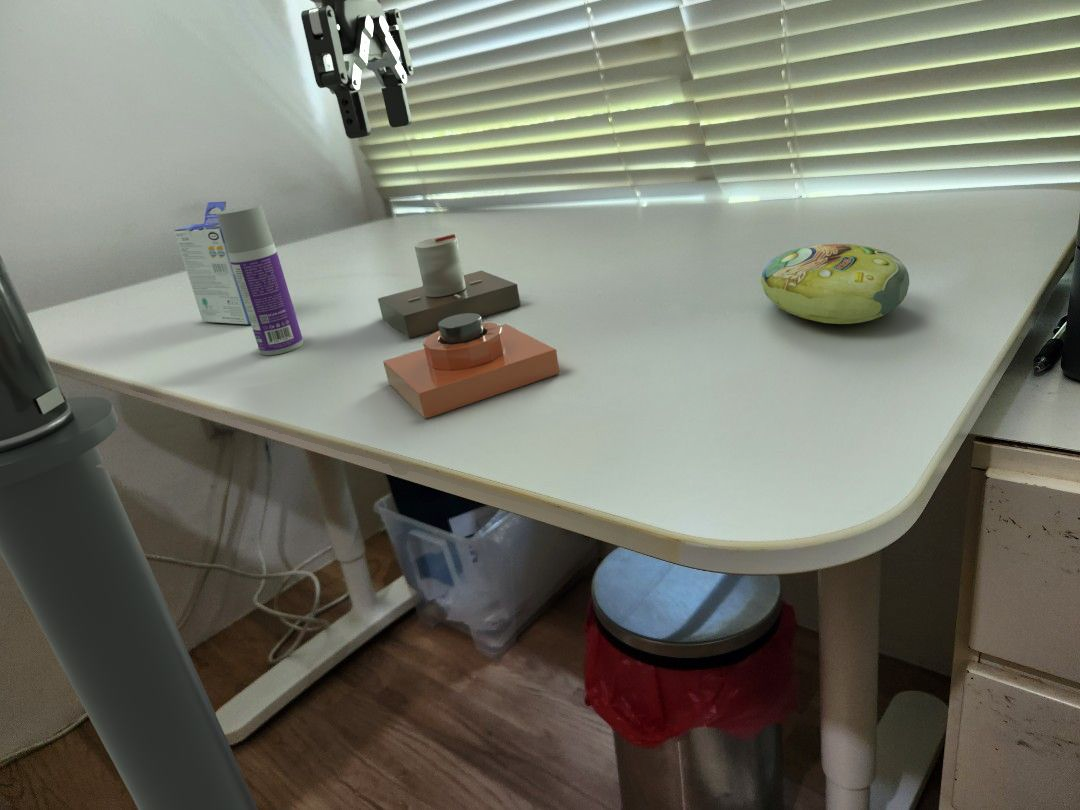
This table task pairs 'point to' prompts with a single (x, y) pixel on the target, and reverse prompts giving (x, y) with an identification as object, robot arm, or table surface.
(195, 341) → the table surface
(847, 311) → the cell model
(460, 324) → the button
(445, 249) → the dial
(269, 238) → the container
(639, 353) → the table surface
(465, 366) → the button housing
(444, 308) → the dial panel
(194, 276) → the ink cartridge box
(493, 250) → the table surface
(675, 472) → the table surface
